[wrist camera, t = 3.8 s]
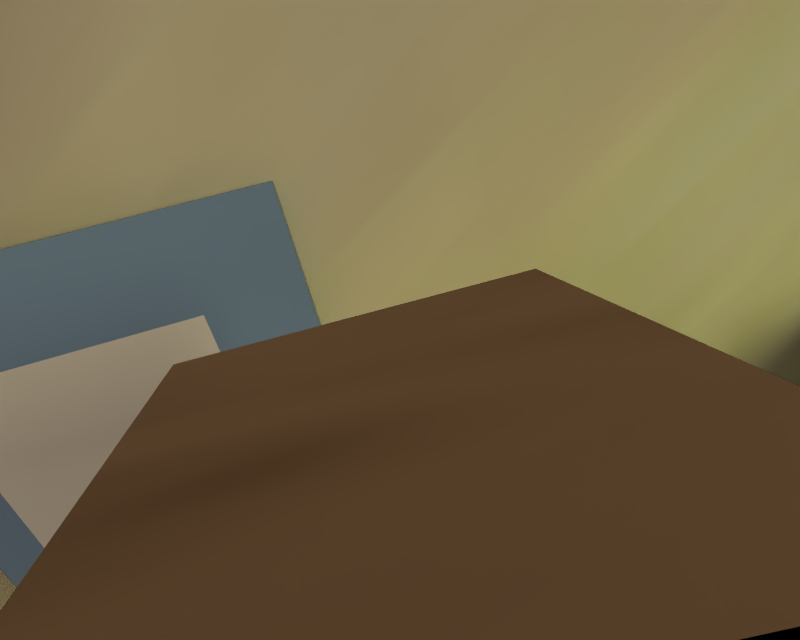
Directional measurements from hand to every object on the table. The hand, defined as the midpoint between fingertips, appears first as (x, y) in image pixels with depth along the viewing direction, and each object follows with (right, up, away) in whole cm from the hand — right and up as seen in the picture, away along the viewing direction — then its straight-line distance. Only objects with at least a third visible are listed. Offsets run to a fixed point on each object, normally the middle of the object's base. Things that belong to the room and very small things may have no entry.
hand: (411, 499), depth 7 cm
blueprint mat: (-11, -2, +10) cm, 15 cm away
